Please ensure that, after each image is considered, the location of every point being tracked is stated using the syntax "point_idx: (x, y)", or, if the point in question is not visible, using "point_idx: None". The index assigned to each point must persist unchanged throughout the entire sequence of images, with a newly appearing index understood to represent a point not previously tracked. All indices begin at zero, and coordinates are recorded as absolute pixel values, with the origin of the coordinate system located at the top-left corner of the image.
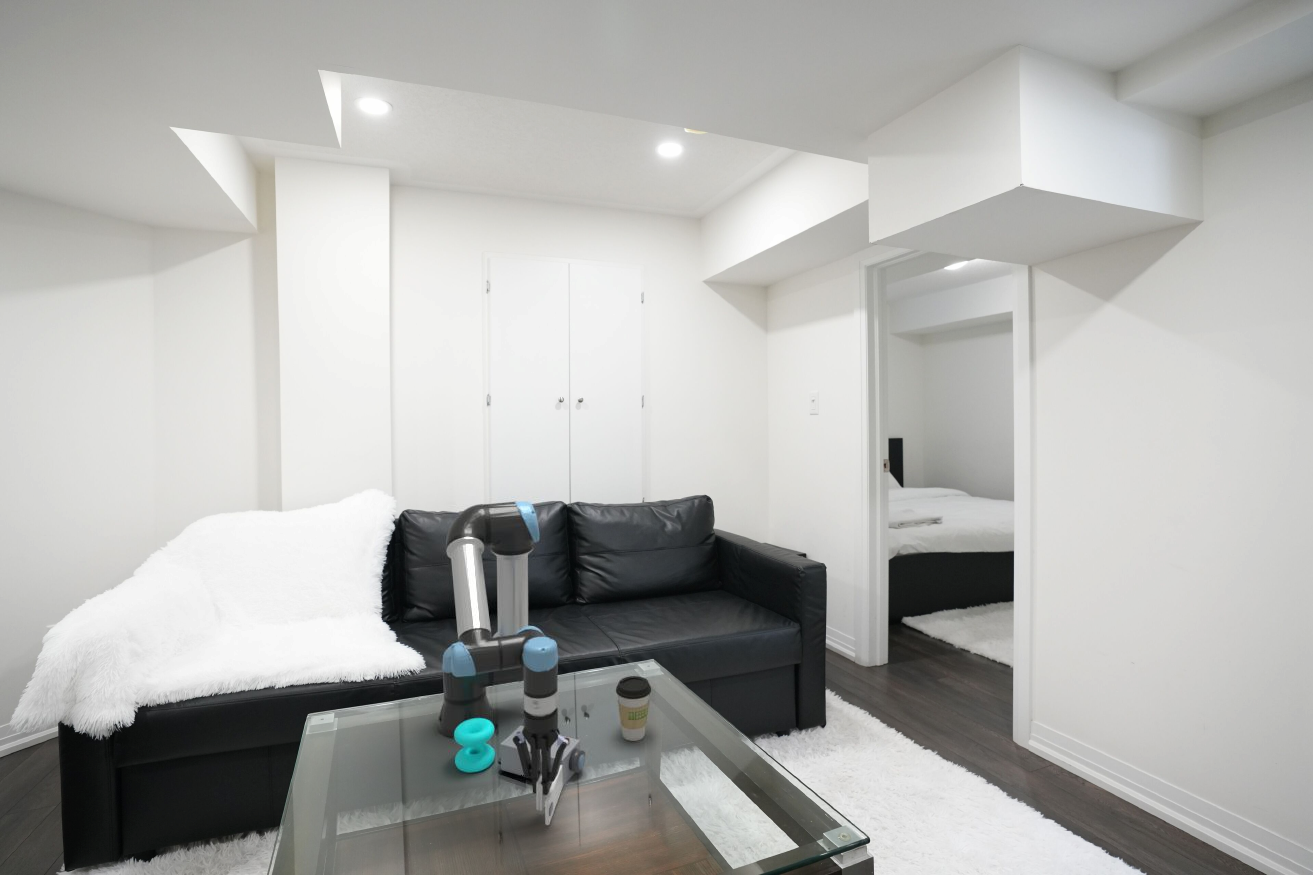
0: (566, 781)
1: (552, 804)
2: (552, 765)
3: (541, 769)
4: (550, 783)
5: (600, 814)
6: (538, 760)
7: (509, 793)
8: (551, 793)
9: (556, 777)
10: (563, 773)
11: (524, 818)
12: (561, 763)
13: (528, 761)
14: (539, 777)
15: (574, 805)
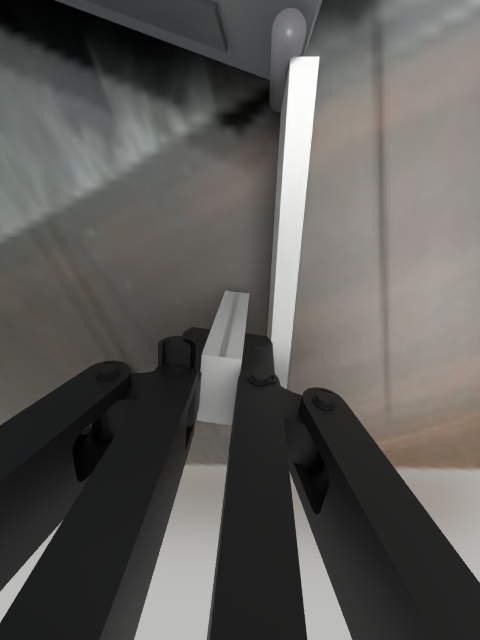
0: (310, 38)
1: (290, 355)
2: (222, 5)
3: (146, 9)
4: (223, 62)
5: (476, 276)
6: (153, 535)
7: (60, 168)
8: (287, 368)
9: (293, 232)
10: (306, 46)
11: (180, 310)
12: (304, 15)
13: (50, 490)
14: (200, 377)
15: (363, 228)
